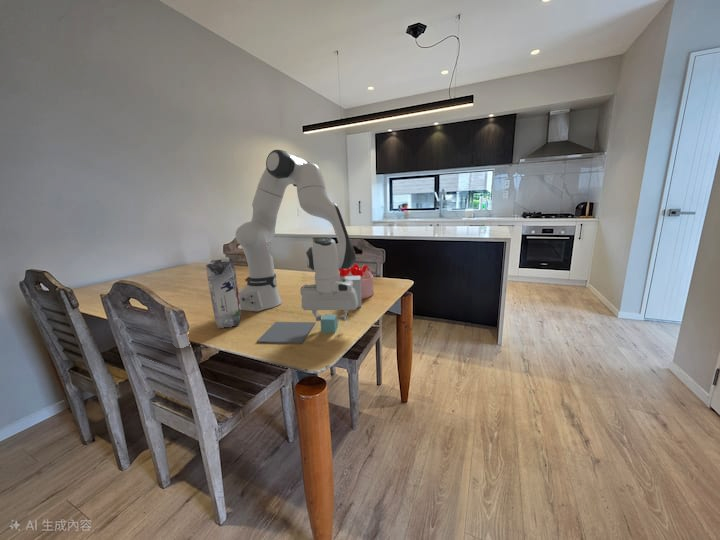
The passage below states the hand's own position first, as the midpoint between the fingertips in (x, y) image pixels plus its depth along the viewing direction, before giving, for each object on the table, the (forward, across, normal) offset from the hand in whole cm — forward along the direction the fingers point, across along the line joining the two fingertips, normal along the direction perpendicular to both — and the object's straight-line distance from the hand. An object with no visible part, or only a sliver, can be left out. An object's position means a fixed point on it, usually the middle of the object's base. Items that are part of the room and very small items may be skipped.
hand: (331, 320), depth 105 cm
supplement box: (+4, +5, +26) cm, 26 cm away
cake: (+4, +3, +40) cm, 41 cm away
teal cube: (+4, -1, 0) cm, 4 cm away
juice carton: (+3, -43, +4) cm, 43 cm away
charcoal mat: (+3, -16, -3) cm, 16 cm away
